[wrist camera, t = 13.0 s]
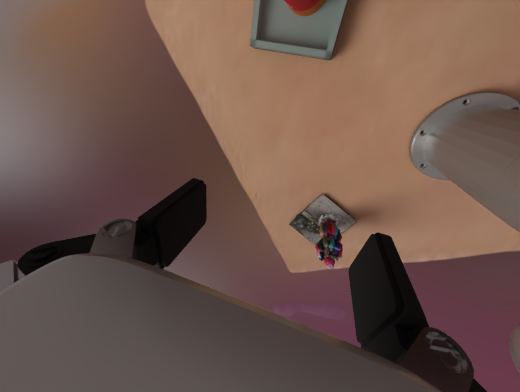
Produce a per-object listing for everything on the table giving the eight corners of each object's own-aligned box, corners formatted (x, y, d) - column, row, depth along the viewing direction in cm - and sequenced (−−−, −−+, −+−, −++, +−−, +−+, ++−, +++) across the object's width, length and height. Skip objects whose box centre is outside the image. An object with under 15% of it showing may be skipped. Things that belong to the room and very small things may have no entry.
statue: (322, 190, 41) (328, 229, 27) (354, 217, 41) (376, 267, 28) (289, 221, 46) (281, 267, 32) (318, 244, 46) (322, 298, 33)
